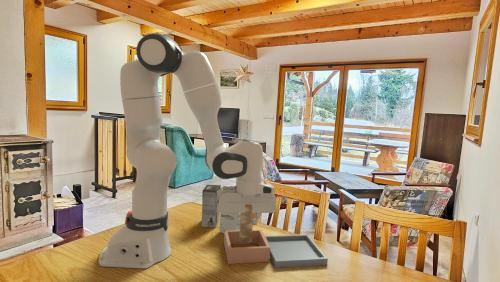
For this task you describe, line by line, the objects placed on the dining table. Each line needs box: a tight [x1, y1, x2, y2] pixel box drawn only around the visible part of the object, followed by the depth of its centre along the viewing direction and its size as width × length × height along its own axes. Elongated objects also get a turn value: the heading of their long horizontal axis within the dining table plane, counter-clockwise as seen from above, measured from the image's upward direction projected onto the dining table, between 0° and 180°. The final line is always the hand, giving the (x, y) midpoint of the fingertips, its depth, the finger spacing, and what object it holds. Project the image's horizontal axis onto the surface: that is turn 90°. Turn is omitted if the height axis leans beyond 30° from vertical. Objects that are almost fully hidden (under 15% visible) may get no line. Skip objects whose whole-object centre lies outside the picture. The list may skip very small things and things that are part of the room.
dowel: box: [239, 205, 254, 245], centre depth 101 cm, size 4×4×14 cm
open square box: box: [223, 229, 271, 265], centre depth 103 cm, size 14×14×5 cm
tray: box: [264, 234, 329, 269], centre depth 104 cm, size 18×18×2 cm
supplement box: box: [219, 213, 241, 234], centre depth 118 cm, size 7×7×13 cm
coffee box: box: [201, 184, 222, 229], centre depth 125 cm, size 9×6×16 cm
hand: (246, 224), depth 102 cm, fingers closed on dowel, 4 cm apart
